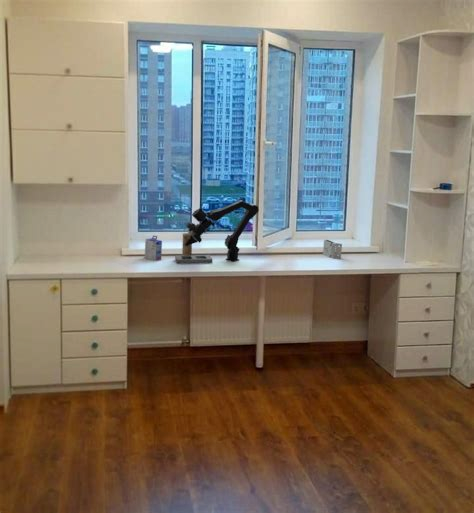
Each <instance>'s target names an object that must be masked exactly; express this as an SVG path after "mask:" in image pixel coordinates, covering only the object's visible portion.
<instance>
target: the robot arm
mask: <svg viewBox="0 0 474 513" xmlns="http://www.w3.org/2000/svg"><path fill="white" fill-rule="evenodd" d="M241 208H242V209H245V210H244V215H243V216H242V218H241V220H240V221H239V223H238V225H237V226H236V228H235V229H234V231H233V233H231V234H230V235H229V234H227V236H226V238H224V246H225V247H226V248H227V252H226V254H227V256H226V257H227V258H225V260H226V261H229V262H237V261H240V259H239V252H240V248H239V246H237V245H238V243H239V238H240V236H241V235H242V233H243V232H244V230H245V228H246V226H247V225H248V224H249V222H250V220H252V219H253V217H255V216H256V215H257V214H258V213H259V209H260V208H259V207H258V205H257V204H255V203H254V202H253V203H249V202H245V201H243V200H242V199H239V200H237V201H235V202H233V203H231V204H228V205H226V206H224V207H222V208H217V209H212V210H210V211H208V212H205V211H204V210H203V208H201V207H199V208H198V209H196V210H194V211H193V212H192V215H191V216H192V217H193V218H194V219H195V220H196V221H197V222H200V223H197V224H195V223H194V222H191V221H187V224H186V226H185V227H186V228H187V230H188V232H187V233H191V234H192V235H191V236H190V239H189V240H188V242H187V243H186V244H185V245H186V246H188V245H190V244H192V245H193V244H195V243H196V244H197V243H201V242H202V239H203V238H202V235H203V234H206V231H207V230H208V229H209V228H210V227H211V226H212V227H213V228H215V224H216V223H215V222H218V221H219V220H221V219H222V218H223V217H224V216H226V215H228V214H230V213H233V212H234V211H237V210H239V209H241Z"/></svg>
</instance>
